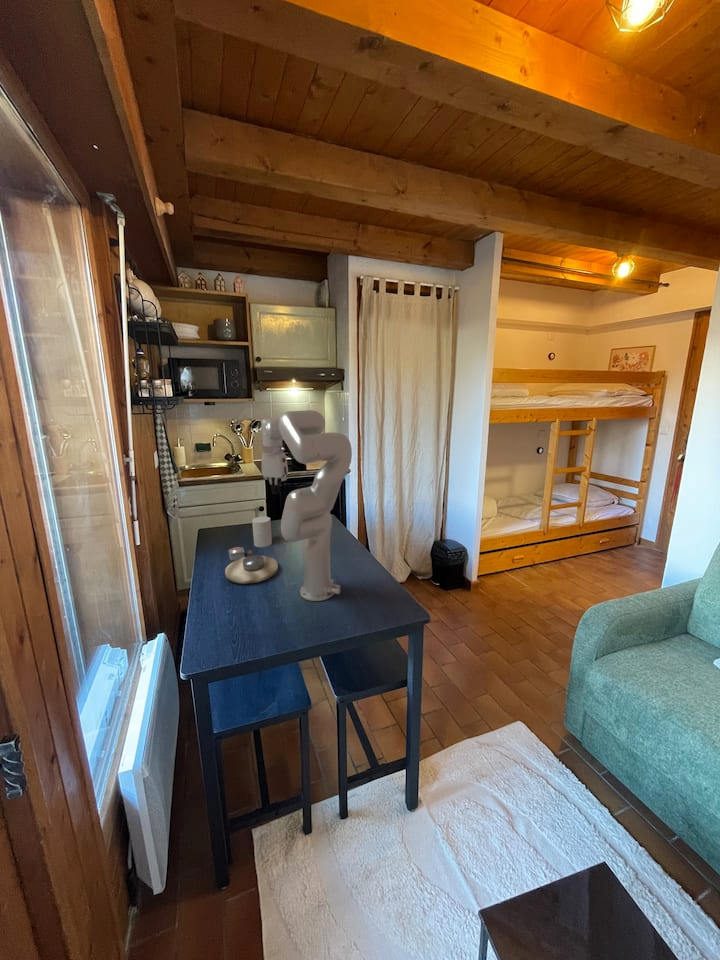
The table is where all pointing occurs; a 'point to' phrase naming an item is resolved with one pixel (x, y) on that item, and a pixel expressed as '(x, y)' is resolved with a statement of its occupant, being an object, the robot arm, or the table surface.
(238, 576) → the turntable
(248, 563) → the disc
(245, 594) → the table surface
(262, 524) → the cup
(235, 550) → the dial gauge
